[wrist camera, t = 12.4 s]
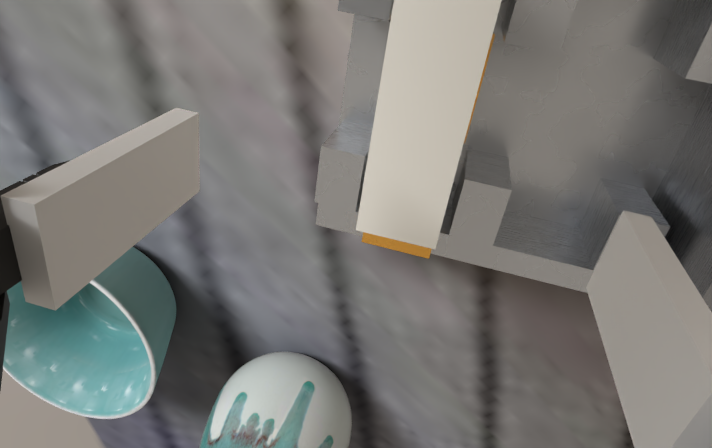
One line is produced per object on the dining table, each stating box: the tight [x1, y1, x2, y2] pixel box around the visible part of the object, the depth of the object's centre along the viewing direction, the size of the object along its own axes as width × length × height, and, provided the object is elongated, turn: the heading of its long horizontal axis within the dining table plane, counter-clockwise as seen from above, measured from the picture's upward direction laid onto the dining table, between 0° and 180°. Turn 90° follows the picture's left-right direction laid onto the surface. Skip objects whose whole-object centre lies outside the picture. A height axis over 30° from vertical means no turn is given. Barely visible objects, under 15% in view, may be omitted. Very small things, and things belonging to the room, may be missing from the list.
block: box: [356, 0, 502, 249], centre depth 25 cm, size 4×12×9 cm, turn 171°
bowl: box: [3, 247, 176, 419], centre depth 41 cm, size 16×16×8 cm
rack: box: [314, 0, 712, 312], centre depth 25 cm, size 27×17×10 cm, turn 81°
